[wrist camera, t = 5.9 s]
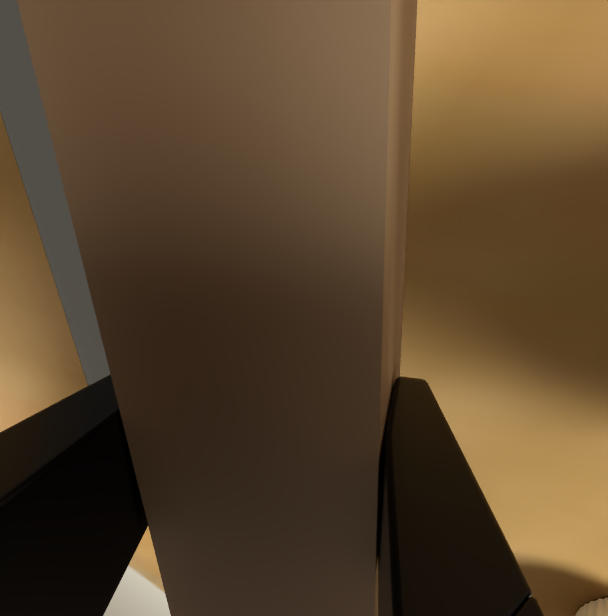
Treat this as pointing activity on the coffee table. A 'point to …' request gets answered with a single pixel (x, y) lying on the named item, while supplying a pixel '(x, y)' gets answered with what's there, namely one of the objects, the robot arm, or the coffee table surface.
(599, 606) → the muffin
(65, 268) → the rest board
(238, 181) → the turner
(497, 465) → the coffee table surface
